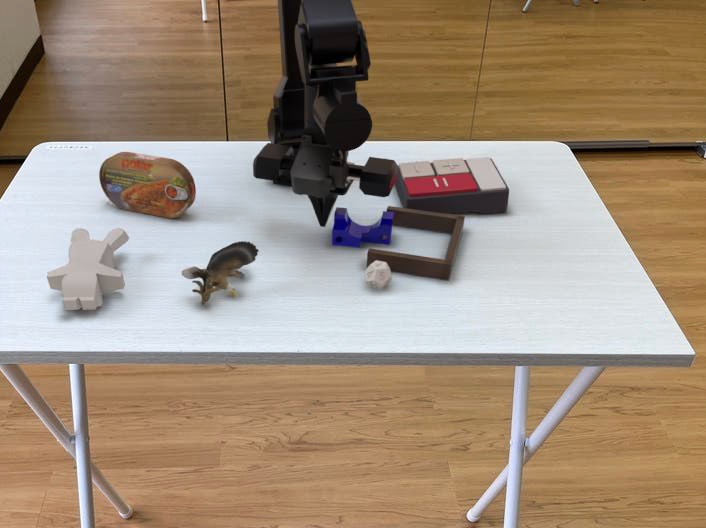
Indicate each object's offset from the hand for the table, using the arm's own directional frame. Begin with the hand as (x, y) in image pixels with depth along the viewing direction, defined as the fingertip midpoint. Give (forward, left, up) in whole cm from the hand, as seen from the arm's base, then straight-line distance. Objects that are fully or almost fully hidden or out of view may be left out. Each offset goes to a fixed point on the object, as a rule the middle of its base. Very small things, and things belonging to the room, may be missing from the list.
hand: (323, 225), depth 109 cm
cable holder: (+6, 0, -2) cm, 6 cm away
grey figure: (-26, -20, -2) cm, 33 cm away
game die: (+10, -10, -2) cm, 14 cm away
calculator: (+15, +16, -2) cm, 22 cm away
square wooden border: (+13, 0, -2) cm, 13 cm away
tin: (-27, 0, -2) cm, 27 cm away
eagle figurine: (-9, -17, -2) cm, 19 cm away
